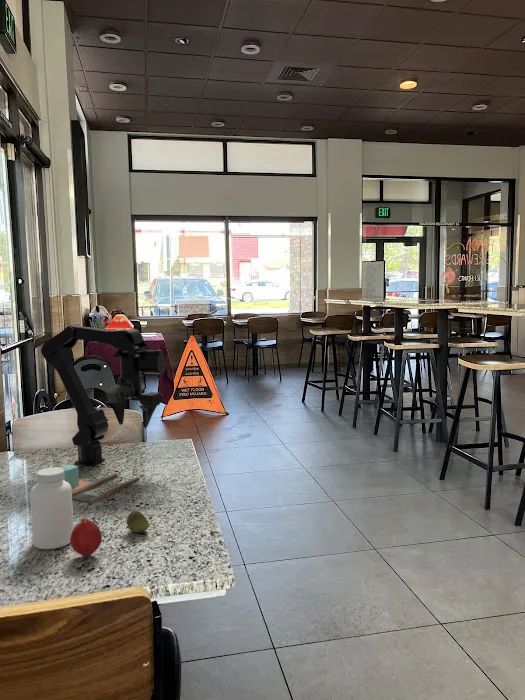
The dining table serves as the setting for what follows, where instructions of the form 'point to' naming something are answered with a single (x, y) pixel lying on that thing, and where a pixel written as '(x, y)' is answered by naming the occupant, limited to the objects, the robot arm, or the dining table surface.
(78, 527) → the onion
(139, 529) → the lime
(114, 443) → the dining table surface
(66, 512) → the pill bottle
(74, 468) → the block
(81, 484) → the tile
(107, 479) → the chute
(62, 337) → the robot arm
